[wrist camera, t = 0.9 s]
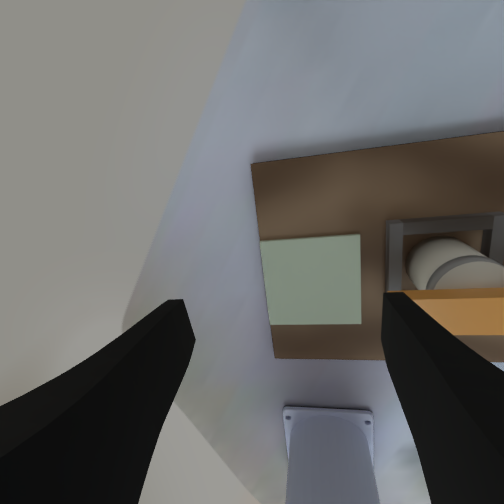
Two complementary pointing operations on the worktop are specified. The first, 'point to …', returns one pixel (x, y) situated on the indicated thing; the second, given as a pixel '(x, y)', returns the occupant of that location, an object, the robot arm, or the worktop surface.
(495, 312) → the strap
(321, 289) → the sage mat
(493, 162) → the board
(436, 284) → the plug
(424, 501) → the worktop surface
